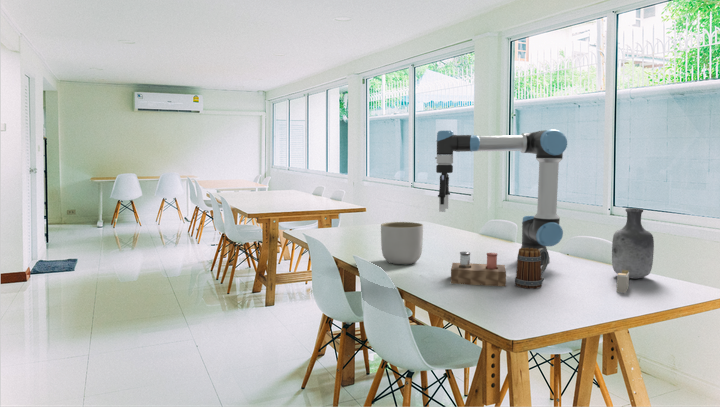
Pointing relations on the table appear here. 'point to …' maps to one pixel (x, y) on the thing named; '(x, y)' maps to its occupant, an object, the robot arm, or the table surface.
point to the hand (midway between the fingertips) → (443, 210)
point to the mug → (530, 268)
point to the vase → (633, 247)
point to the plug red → (491, 260)
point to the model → (623, 281)
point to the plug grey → (465, 259)
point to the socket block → (478, 275)
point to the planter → (401, 242)
